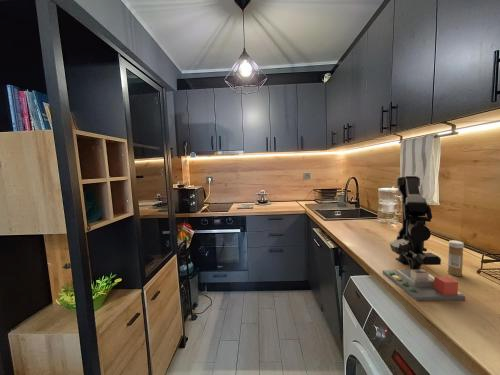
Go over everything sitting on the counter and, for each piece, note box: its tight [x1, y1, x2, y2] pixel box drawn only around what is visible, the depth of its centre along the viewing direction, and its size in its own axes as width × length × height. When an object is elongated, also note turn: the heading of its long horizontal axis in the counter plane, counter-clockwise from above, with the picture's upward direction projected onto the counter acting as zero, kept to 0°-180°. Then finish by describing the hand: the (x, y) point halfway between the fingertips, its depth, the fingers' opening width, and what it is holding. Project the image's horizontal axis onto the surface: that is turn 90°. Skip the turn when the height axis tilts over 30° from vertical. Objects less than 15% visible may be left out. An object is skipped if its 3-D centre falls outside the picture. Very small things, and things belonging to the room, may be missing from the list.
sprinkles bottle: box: [447, 239, 465, 277], centre depth 94 cm, size 5×5×14 cm
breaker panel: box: [382, 269, 466, 301], centre depth 87 cm, size 20×16×3 cm
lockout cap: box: [433, 275, 459, 295], centre depth 79 cm, size 4×4×4 cm
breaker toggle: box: [410, 268, 430, 281], centre depth 86 cm, size 3×4×4 cm
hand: (413, 272), depth 90 cm, fingers closed
